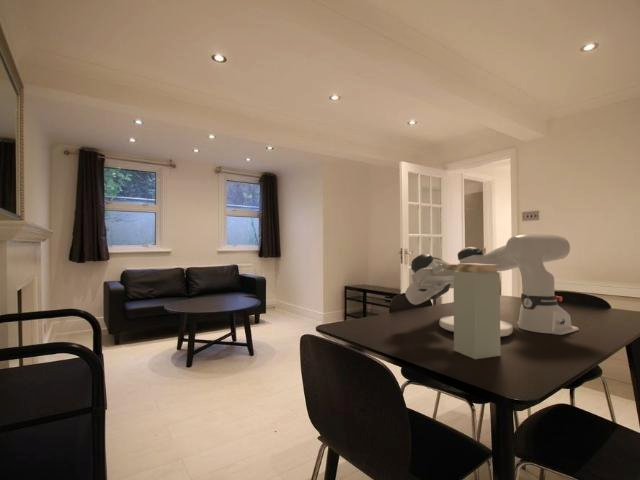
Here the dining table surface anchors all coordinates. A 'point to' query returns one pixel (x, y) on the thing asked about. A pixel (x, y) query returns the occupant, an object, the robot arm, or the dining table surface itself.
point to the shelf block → (477, 314)
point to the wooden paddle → (473, 267)
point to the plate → (448, 324)
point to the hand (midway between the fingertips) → (454, 265)
